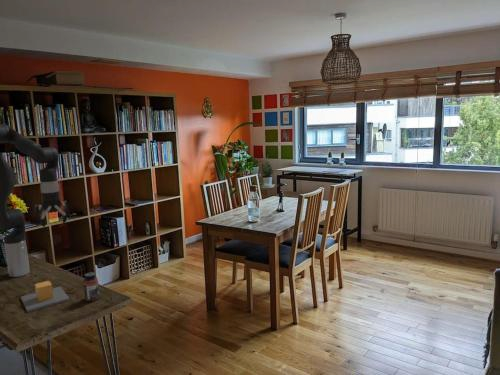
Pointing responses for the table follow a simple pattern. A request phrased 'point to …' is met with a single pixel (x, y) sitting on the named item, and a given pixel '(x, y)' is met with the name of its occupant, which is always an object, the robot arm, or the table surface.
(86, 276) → the supplement bottle
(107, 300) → the table surface
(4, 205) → the robot arm
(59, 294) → the thin gray plate
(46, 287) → the mustard foam cube
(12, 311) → the table surface
